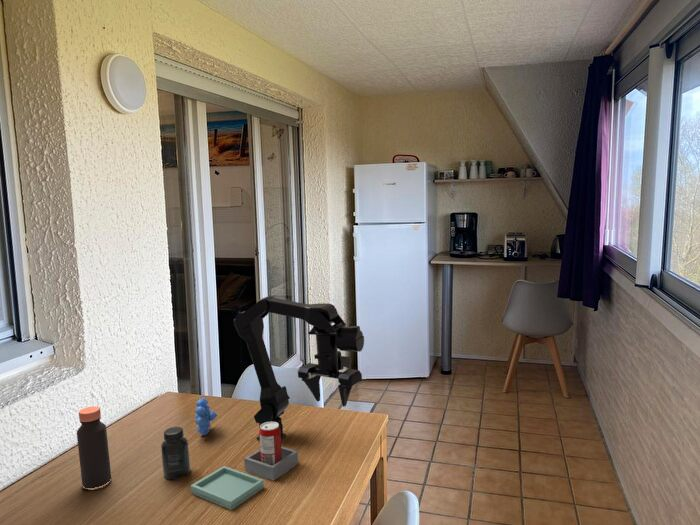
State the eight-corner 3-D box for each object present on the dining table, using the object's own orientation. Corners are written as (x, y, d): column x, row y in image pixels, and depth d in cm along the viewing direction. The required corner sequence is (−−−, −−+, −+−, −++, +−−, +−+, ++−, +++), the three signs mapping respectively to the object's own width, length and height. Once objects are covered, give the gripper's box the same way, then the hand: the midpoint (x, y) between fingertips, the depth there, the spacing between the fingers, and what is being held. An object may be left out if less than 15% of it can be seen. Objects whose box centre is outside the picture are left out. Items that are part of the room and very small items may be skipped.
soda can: (280, 460, 145) (277, 418, 143) (284, 470, 140) (281, 426, 138) (260, 464, 143) (257, 422, 142) (263, 474, 138) (260, 430, 137)
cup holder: (245, 470, 140) (244, 458, 140) (270, 454, 148) (269, 442, 148) (273, 480, 135) (272, 467, 134) (298, 463, 143) (297, 451, 142)
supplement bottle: (195, 468, 142) (192, 426, 141) (180, 482, 136) (176, 437, 134) (174, 465, 145) (170, 423, 143) (157, 478, 138) (153, 434, 137)
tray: (191, 493, 130) (190, 485, 130) (224, 472, 139) (224, 465, 139) (231, 509, 123) (230, 501, 122) (263, 487, 132) (263, 479, 131)
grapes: (216, 442, 158) (213, 403, 156) (193, 444, 157) (190, 405, 155) (220, 425, 169) (218, 389, 167) (199, 427, 168) (196, 391, 167)
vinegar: (117, 478, 139) (109, 405, 137) (100, 492, 132) (92, 416, 130) (94, 476, 140) (86, 404, 138) (76, 490, 134) (68, 414, 131)
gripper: (370, 345, 149) (374, 398, 150) (318, 339, 159) (322, 389, 161) (348, 356, 140) (352, 413, 141) (294, 349, 150) (298, 402, 152)
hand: (331, 403), depth 149 cm, fingers open, 9 cm apart
